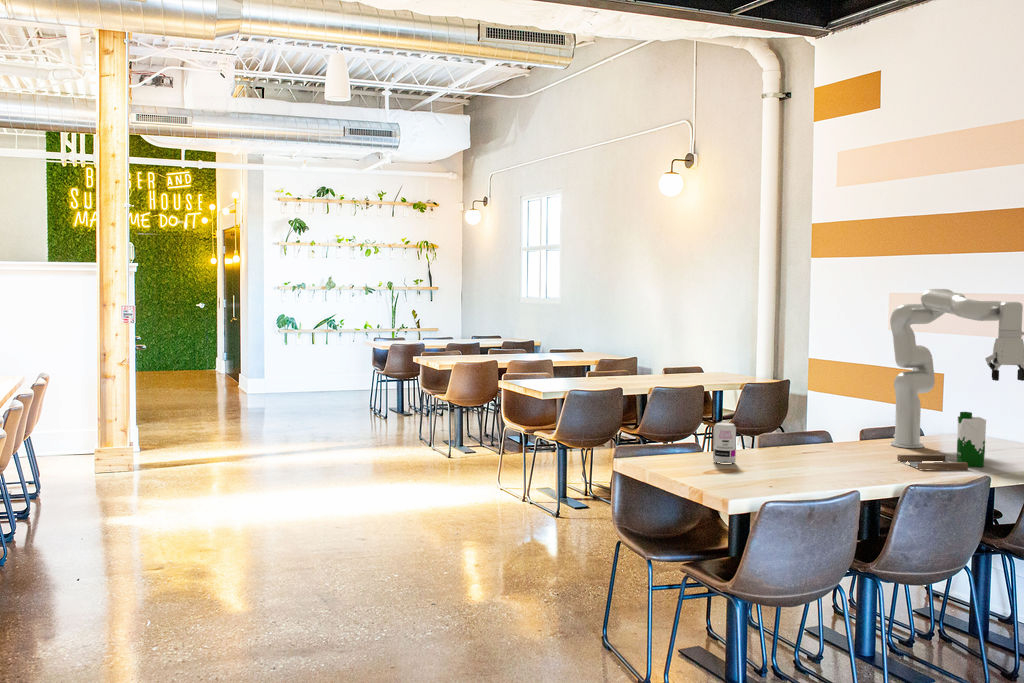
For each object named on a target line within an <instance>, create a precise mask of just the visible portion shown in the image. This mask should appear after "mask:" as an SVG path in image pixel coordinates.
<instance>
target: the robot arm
mask: <svg viewBox="0 0 1024 683" xmlns="http://www.w3.org/2000/svg"><path fill="white" fill-rule="evenodd" d="M1023 309H1024V308H1023V303H1021V302H1018V301H1001V300H1000V301H999V300H975V299H970V298H966V296H965V295H964V294H962V293H959V292H954V291H952V290H951V289H949V288H930V289H927V290H925V291H924V292H923V293H922V295H921V297H920V303H908V304H907V303H906V304H902V305H899V306H896V308H895V309H894V310H893V311H892V313H891V314H890V315H891V316H890V319H889V323H890V329H891V333H892V340H893V341H892V342H893V350H894V358H895V359H894V360H895V363H896V365H897V367H899V368H902V369H912V370H911V371H910V370H908V371H903V372H900V373H898V374H897V375H896V376H895V377H894V381H893V389H894V394H895V420H894V422H895V424H894V425H895V427H894V428H895V429H894V434H893V435H892V436H893V438H894V440H892V441H890V445H891V446H893V447H897V448H906V449H922V448H924V443H922V442H920V441H921V437H920V435H921V413H922V412H921V400H920V397H919V395H918V394H926V393H929V392H931V391H932V390H933V389H934V386H935V384H936V383H935V382H936V381H935V370H934V369H935V368H934V361H933V360H934V359H933V356H932V352H931V350H930V349H929V348H928V347H926V346H924V345H921V344H920V345H919V344H918V345H917V342H916V336H915V335H916V334H915V332H914V330H913V328H912V325H927V324H930V323H932V322H934V321H935V320H937V319H939V318H940V317H942V316H943V315H944V314H951V315H955V316H957V317H960V318H963V319H968V320H971V321H977V322H978V321H979V322H985V321H987V322H988V321H989V322H994V321H995V322H996V321H998V331H997V332H998V333H997V334H998V336H997V338H995V339H994V343H993V349H992V354H991V355H989V356H987V357H985V362H986V363H987V366H988V367H989V368H990V370H991V379H992V381H996V382H997V381H999V380H1000V370H999V368H1000V367H1001V366H1017V368H1019V369H1017V380H1018V381H1021V382H1023V381H1024V339H1023V338H1022V337H1023V336H1024V331H1023V330H1022V329H1023Z"/></svg>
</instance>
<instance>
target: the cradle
mask: <svg viewBox="0 0 1024 683" xmlns="http://www.w3.org/2000/svg"><path fill="white" fill-rule="evenodd" d="M896 458H897V460H898V461H900V462H899V463H901V462H903V463H906V462H907V461H908V462H909V463H910V465H911V466H913V467H915V468H916V467H918V469H944V470H943V471H968V469H969V467H968V463H966V462H957V461H953V462H951V461H947V460H946V454H943V453H942V454H935V453H934V454H897V457H896ZM898 461H897V462H898ZM922 461H943V462H934V463H922ZM903 463H902V464H903ZM911 466H910V467H911ZM913 467H912V468H913ZM915 468H914V469H915ZM918 469H917V470H918ZM947 469H948V470H947Z"/></svg>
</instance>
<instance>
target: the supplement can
mask: <svg viewBox="0 0 1024 683" xmlns="http://www.w3.org/2000/svg"><path fill="white" fill-rule="evenodd" d="M736 438H737V427H736V426H735V424H734V423H733V422H716V423H715V425H714V426H713V446H712V448H713V452H712V458H713V459H712V460H713V462H714V461H715V462H720V463H736V457H737V456H736V453H737V450H736V448H737V446H736V445H737V444H736V443H737V439H736ZM715 462H714V463H715Z"/></svg>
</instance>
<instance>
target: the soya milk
mask: <svg viewBox="0 0 1024 683" xmlns="http://www.w3.org/2000/svg"><path fill="white" fill-rule="evenodd" d="M986 429H987V420H986V419H984V418H982V417H980V416H973V412H971V411H960V412H959V416H957V436H956V438H957V442H956V462H966V463H968V468H971V467H972V468H984V465H985V462H984V461H985V456H986V455H985V454H986V433H987V431H986Z"/></svg>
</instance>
